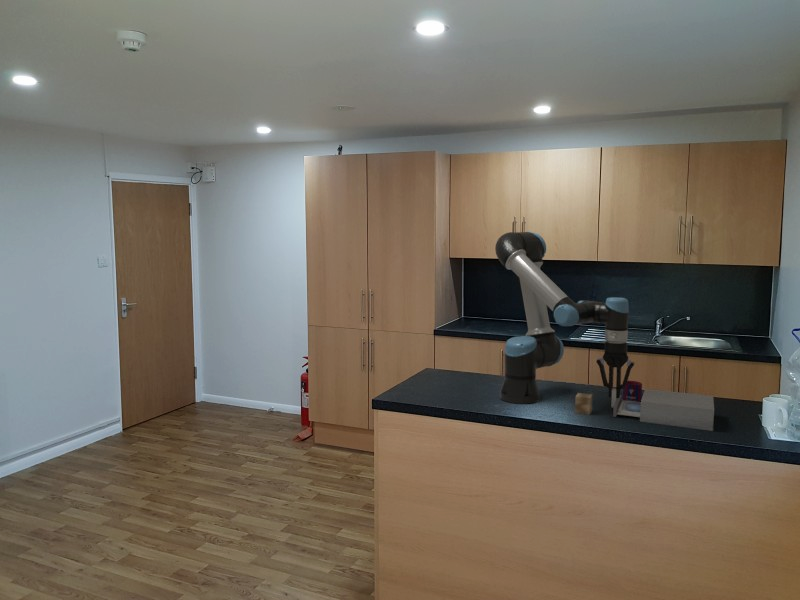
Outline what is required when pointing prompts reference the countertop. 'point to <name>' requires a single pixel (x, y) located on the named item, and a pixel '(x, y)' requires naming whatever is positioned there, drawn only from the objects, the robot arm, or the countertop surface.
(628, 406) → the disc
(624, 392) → the mug
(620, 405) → the tray
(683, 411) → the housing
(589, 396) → the block
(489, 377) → the countertop surface
